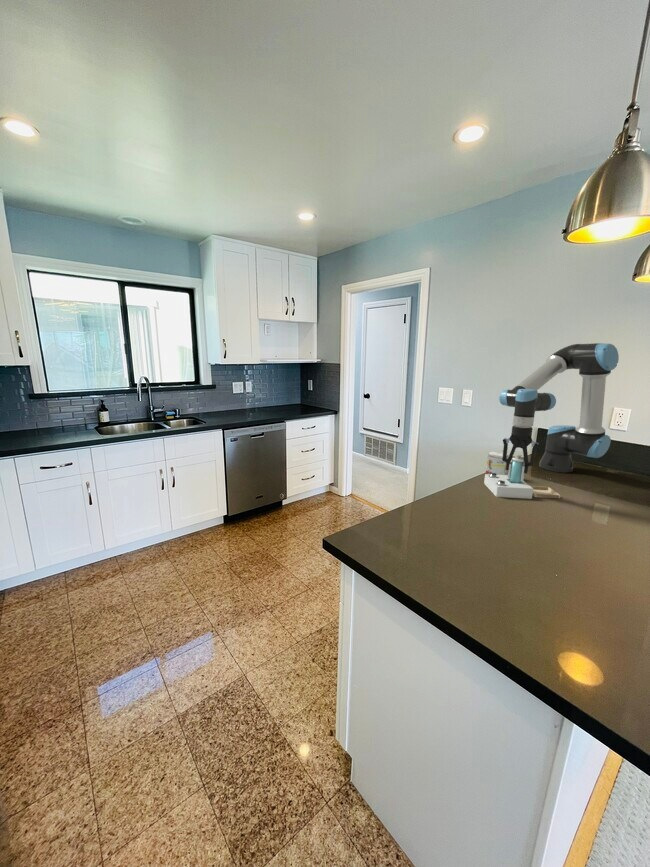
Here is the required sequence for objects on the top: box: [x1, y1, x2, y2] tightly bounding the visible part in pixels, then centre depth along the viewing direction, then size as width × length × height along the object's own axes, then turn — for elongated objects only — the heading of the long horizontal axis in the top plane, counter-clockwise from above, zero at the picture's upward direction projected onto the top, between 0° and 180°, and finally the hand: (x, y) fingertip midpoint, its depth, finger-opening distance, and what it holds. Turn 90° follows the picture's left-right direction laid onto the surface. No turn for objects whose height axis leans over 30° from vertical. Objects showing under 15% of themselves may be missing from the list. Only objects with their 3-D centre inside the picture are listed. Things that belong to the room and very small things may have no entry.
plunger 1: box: [490, 473, 497, 478], centre depth 158 cm, size 3×3×5 cm
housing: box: [483, 473, 533, 500], centre depth 153 cm, size 16×14×5 cm
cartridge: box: [509, 454, 524, 484], centre depth 151 cm, size 5×5×16 cm
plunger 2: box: [498, 480, 505, 486], centre depth 148 cm, size 3×3×5 cm
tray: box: [530, 485, 561, 499], centre depth 151 cm, size 10×10×2 cm
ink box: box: [485, 451, 510, 475], centre depth 171 cm, size 9×5×12 cm, turn 50°
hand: (515, 478), depth 152 cm, fingers closed on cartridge, 4 cm apart
